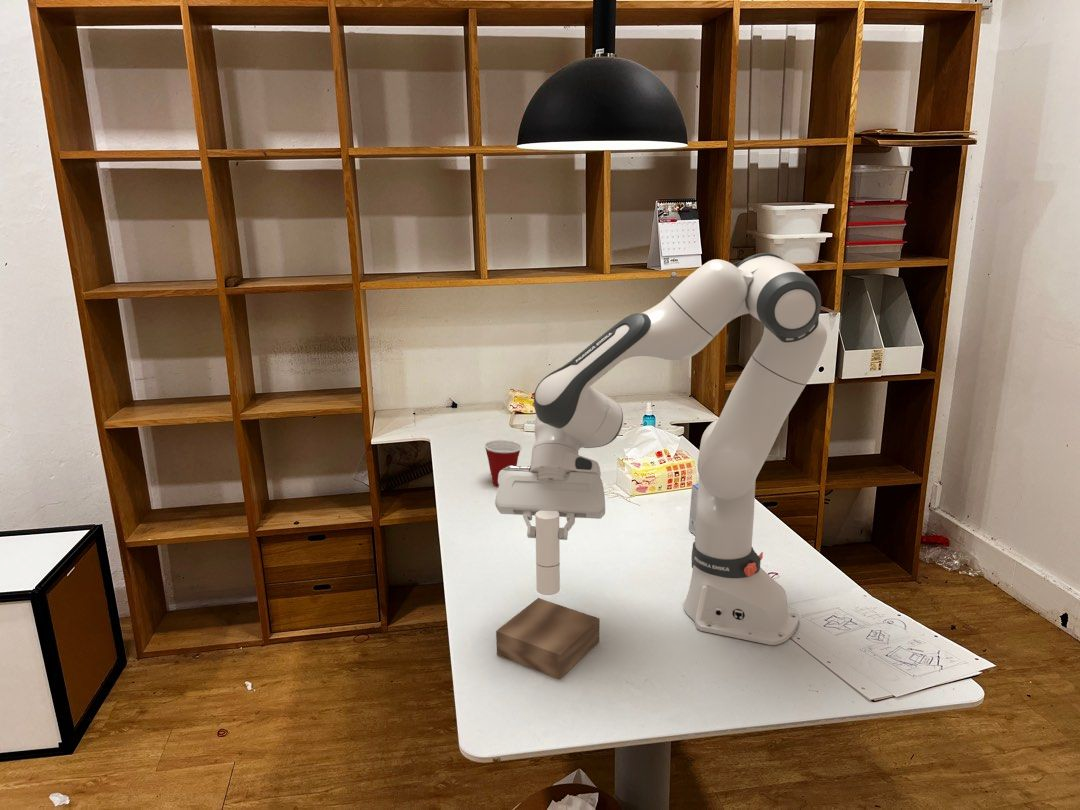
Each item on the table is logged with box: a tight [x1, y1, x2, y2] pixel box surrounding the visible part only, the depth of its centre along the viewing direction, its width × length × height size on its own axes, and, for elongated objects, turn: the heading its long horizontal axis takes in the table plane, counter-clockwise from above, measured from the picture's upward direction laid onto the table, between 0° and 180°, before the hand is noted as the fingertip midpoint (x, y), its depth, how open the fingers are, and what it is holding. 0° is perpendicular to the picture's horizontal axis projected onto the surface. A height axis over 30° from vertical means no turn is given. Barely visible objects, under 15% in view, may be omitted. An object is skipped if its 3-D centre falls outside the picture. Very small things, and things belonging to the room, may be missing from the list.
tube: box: [534, 510, 561, 596], centre depth 146 cm, size 4×4×15 cm
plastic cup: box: [483, 439, 523, 488], centre depth 228 cm, size 11×11×12 cm
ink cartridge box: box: [688, 483, 698, 536], centre depth 194 cm, size 10×6×14 cm, turn 15°
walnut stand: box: [495, 597, 601, 680], centre depth 151 cm, size 14×14×5 cm
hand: (547, 538), depth 144 cm, fingers closed on tube, 4 cm apart
